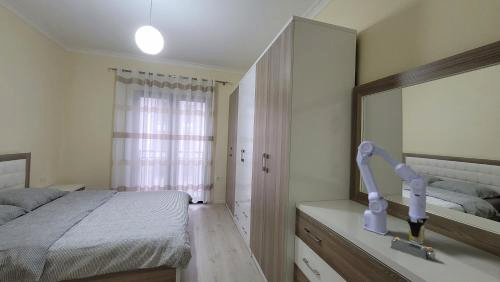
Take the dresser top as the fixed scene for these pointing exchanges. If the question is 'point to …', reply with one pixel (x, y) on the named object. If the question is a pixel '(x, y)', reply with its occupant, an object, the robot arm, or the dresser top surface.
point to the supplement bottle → (420, 238)
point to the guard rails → (426, 247)
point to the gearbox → (411, 249)
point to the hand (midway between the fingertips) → (416, 234)
